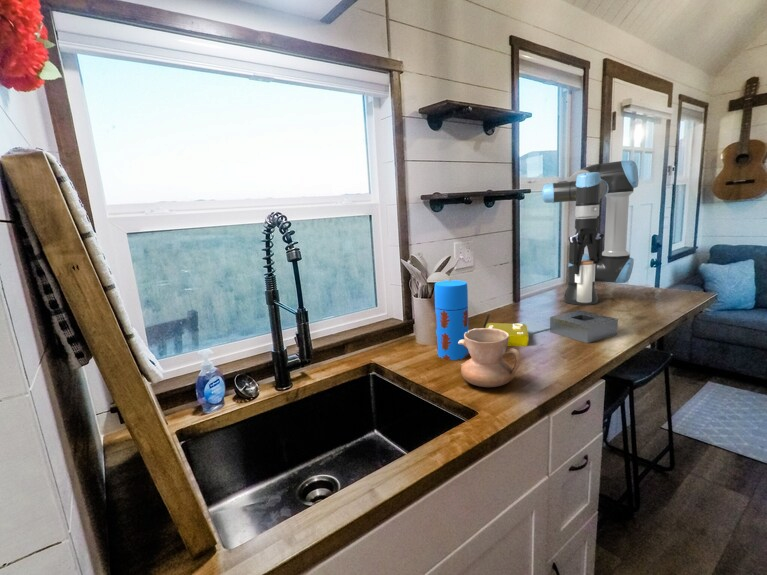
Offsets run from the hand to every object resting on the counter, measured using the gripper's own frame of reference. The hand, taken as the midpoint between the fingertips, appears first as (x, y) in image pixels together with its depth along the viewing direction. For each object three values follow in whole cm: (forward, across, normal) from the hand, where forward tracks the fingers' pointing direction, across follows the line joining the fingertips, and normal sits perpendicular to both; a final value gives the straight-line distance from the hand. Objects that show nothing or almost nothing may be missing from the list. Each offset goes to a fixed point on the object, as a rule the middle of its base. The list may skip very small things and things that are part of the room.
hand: (584, 281), depth 140 cm
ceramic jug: (+19, -53, -22) cm, 61 cm away
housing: (+20, 0, 0) cm, 20 cm away
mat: (+20, -14, +14) cm, 28 cm away
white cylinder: (+7, 0, 0) cm, 7 cm away
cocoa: (+20, -42, +5) cm, 46 cm away
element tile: (+20, -29, +7) cm, 36 cm away
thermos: (+19, -53, +1) cm, 57 cm away
